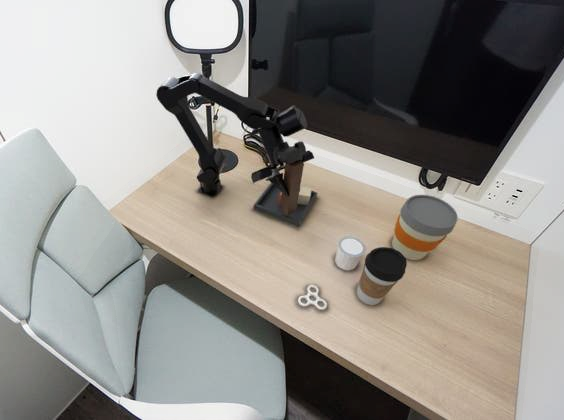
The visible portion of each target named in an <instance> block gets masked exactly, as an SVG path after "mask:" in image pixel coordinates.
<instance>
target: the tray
mask: <svg viewBox="0 0 564 420" xmlns="http://www.w3.org/2000/svg"><path fill="white" fill-rule="evenodd" d="M280 193H281V191H280V190H279V189H278V188H277V187H276V186H275V185H274V184H273V183H271V182H270V184H269V185H268V186H267V188H266V189H265V190H264V191H263V192H262V194H261V195H260V197H258V199H257V200H256V201H255V203H254V204H253V210H254V211H256V212H260V213H262V214H264V215H267V216H270V217H272V218H275V219H277V220H280V221H282V222H285V223H288V224H290V225H292V226H296V227H297V228H299V227H300V225H301V224H302V222H303V221H304V219H305V217H306V216H307V214H308V212H309V210H310V209H311V207H312V206H313V204H314V202H315V201H316V199H317V197H318V192H317V191H314V190H311V196H310V201H309V203H308V205H303V204H297V208H296V212H294V213H291V214H289V215H286V214H285V213H284V212H283V211H282V210H281V209H280V205H281V204H278V202H279V194H280Z"/></svg>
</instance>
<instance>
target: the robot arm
mask: <svg viewBox="0 0 564 420" xmlns="http://www.w3.org/2000/svg"><path fill="white" fill-rule="evenodd" d="M193 94H197V95H198V96H200V97H202V98H204V99H206V100H207V101H210V102H211V103H214V104H216V105H218V106H219V107H222V108H224V110H225V109H226V110H227V111H229V112H232V114H234V115H235V116H236V117H237V118H238V120H239V121H240V122H241V123H242V124H244V125H246V127H248V128H250V129H252V130H251V133H250V135H251V136H257V135H259V138H260V140H261V143H262V146H263V148H264V151H263V154H264V156H267V158H268V160H269V163H270V164H268V166H265V167H262V168H260V169H258V170H255V171H253V172H252V173H251V174H250V178H251V182H252V183H253V184H255V183H257V182H259V181H262V180H265V181H266V182H270V184H271V183H273V184H274V185H275V186H276V187H277V188H278V189H279V190H280V191H281V192H282V193H283V194H284V195H285V196H286V197H289V192H288V189H287V187H286V185H285V182H284V180H283V179H284V172H280V171H283V170H285V163H286V164H292V163H294V162H295V161H298V160H300V161H301V162H303V163H304V164H305V163H306V162H309V161H311V160H314V159H315V156H314V153H313V152H312V151H311V150H307V148H306V145H305V142H304V141H302V140H301V141H297V142H295V143H294V144H293V145H292V146H290V145H289V143H288V141H284V138H286V137H290V136H292V135H294V134H297V133H299V132H301V131H303V130H305V129H307V128H308V122H307V118H306V116H305V114H304V112H303V111H301V109H300V108H298V107H296V105H295V104H294V105H292V106H290V107H289V108H287V109H286V110H283V111H282V112H281V110H280V109H278V108H275V107H273V106H271V105H269V104H267V103H266V102H265V101H264V100H261V99H259V98H256V97H252V96H244V95H240V94H238V93H236V92H235V91H232V90H230V89H229V88H227V87H225V86H224V85H223V86H222V85H221V84H219V83H217V82H216V81H213V80H212V79H210V78H207V77H205V76H204V75H203V74H202V73H201V72H194V73H192V74H186V75H182V76H179V77H175V76H171V77H168V78H166V80H165V81H164V82H163V83H162V84H160V86H158V87H157V90H156V94H155V96H156V99H157V101H158V102H159V103H160V105H161V106H162V107H163V108H164V109H165V111H167V112H169V113H170V114H172V115H174V117H175V119H176V120H177V122H178V123H179V125H180V126H181V128H182V130H183V132H184V133H185V135H186V136H187V138H188V140H189V141H190V143H191V145H192V146H193V148H194V149H195V152H196V153H197V154H198V159H199V166H200V170H199V172H198V173H197V175H196V179H197V181H198V183H199V186H200V187H199V188H198V189H197V192H199V193H201V194H203V195H206V196H209V197H211V198H213V197H215V196H216V195H217V194H218V193H219V192H220V191H221V190H222V189H223V185H222V181H221V179H220V175H221V172H222V170H223V168H224V166H225V164H226V159H225V158H226V155H224V154H223V152H222V149H221V148H220V147H217V148H215V147H213V146H212V144H211V143H210V141H209V140H208V138H207V136H206V134H205V133H204V131H203V129H202V126H201V125H200V124H199V122H198V120H197V118H196V117H195V115H194V113H193V111H192V110H191V108H190V104H189V99H188V96H191V95H193ZM268 116H269V118H268ZM283 137H284V138H283ZM299 192H300V190H299Z"/></svg>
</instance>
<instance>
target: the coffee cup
mask: <svg viewBox="0 0 564 420" xmlns="http://www.w3.org/2000/svg"><path fill="white" fill-rule="evenodd" d="M407 260H408V259H406V258H405V257H404V256H403V255H402V254H401V253H400V252H399V251H397V250H395V249H394V248H393V247H388V246H379V247H376V248H373V249H371V250H370V252H369V253H367V255H366V256H365V259H364V264H363V268H362V271H361V275H360V278H359V282H358V285H357V288H356V295H357V297H358V299H359V300H360V301H361V302H362V303H364V304H366V305H370V306H374V305H378V304H379V303H380V302H381V301H382V300H383V299H384V297H386V295H387V294H389V293H390V291H391V290H392V289H393V288H394V287H395V285H396V284H397V283H398V282H399V281H400V280H401V279H403V278H404V275H405V274H406V269H407V265H408V261H407Z"/></svg>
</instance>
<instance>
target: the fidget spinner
mask: <svg viewBox="0 0 564 420" xmlns="http://www.w3.org/2000/svg"><path fill="white" fill-rule="evenodd" d="M312 288H313V289H314V290H316V291H315V292H314V291H313V292H312V291H311V289H312ZM306 291H307V294H305V295H300V296H299V297H298V299H297V302H298V304H299V305H300V306H301V307H308V306H310V305H313V306H315V308H317V309H318V310H320V311H324V310H325V309H327V307H328V303H327V301H326V300H325V299H324V298H321V297H320V295H319V291H320V289H319V288H318V286H317V285H315V284H310V285H308V286H307V288H306ZM310 297H314V298H315V300H312V299H311V298H310ZM302 299H304V300H306V303H303V302H302ZM318 302H321V303H323V306H320V305H319V304H318Z"/></svg>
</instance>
